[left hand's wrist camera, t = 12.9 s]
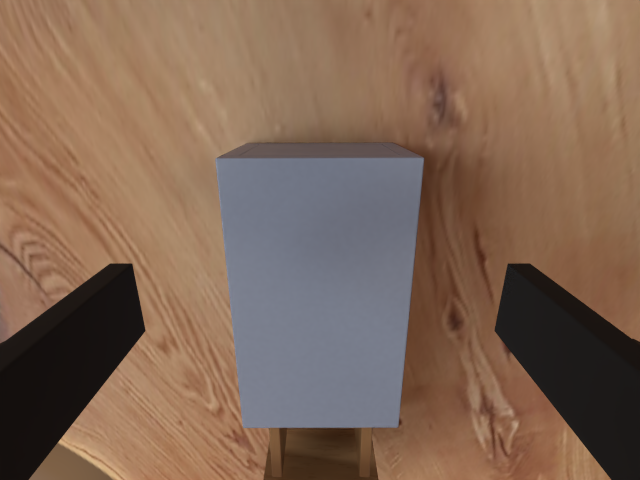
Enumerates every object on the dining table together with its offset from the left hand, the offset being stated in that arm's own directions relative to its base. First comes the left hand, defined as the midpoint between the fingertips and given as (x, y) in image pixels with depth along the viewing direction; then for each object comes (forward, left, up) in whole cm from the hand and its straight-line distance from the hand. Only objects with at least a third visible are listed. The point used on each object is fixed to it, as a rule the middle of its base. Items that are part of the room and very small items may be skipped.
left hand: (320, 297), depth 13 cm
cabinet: (+3, +4, -15) cm, 16 cm away
